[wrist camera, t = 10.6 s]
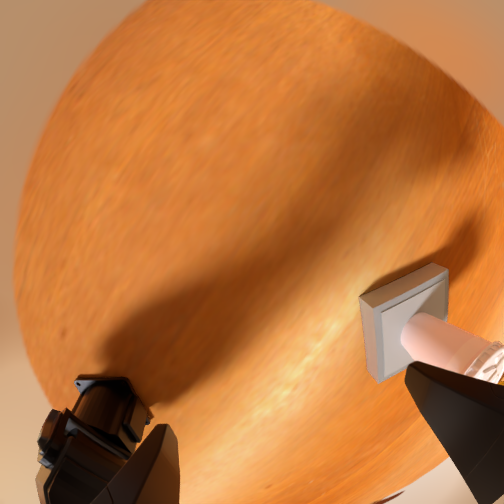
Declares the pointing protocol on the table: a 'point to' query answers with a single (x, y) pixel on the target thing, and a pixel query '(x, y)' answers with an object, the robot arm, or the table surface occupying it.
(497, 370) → the smoothie
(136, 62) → the table surface
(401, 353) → the base
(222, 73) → the table surface
